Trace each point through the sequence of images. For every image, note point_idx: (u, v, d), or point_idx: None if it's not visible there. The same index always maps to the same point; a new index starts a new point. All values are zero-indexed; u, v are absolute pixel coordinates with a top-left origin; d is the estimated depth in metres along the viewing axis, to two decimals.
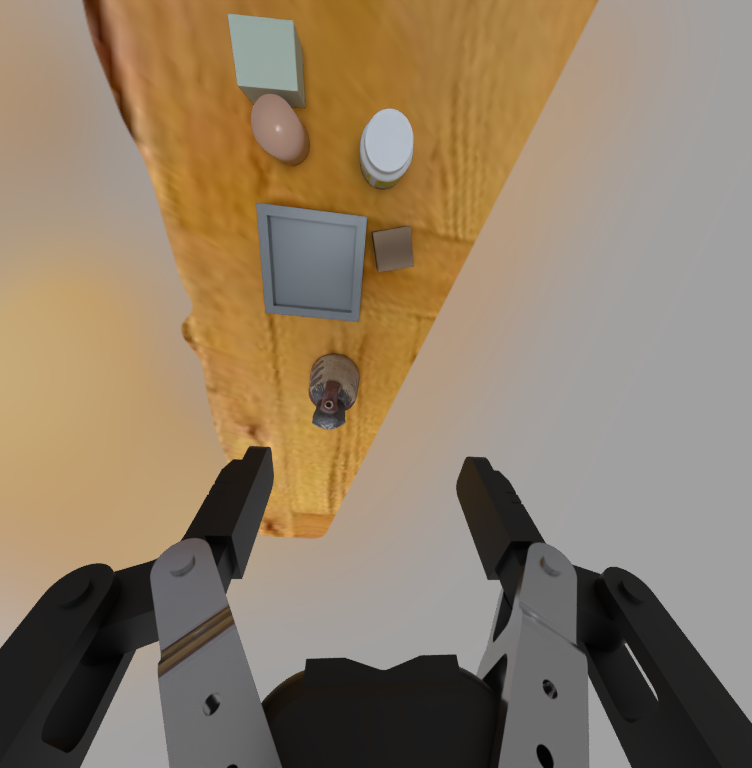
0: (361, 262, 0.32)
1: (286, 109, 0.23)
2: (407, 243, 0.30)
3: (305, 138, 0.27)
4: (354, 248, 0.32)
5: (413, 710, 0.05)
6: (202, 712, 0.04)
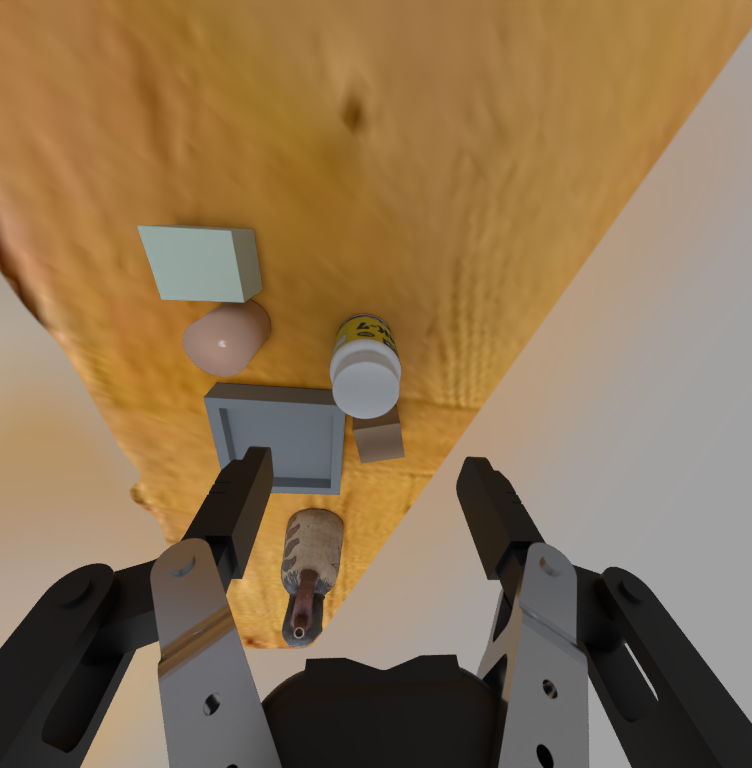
0: (340, 445, 0.26)
1: (228, 333, 0.17)
2: (396, 438, 0.24)
3: (262, 331, 0.20)
4: (332, 426, 0.26)
5: (413, 710, 0.05)
6: (202, 712, 0.04)
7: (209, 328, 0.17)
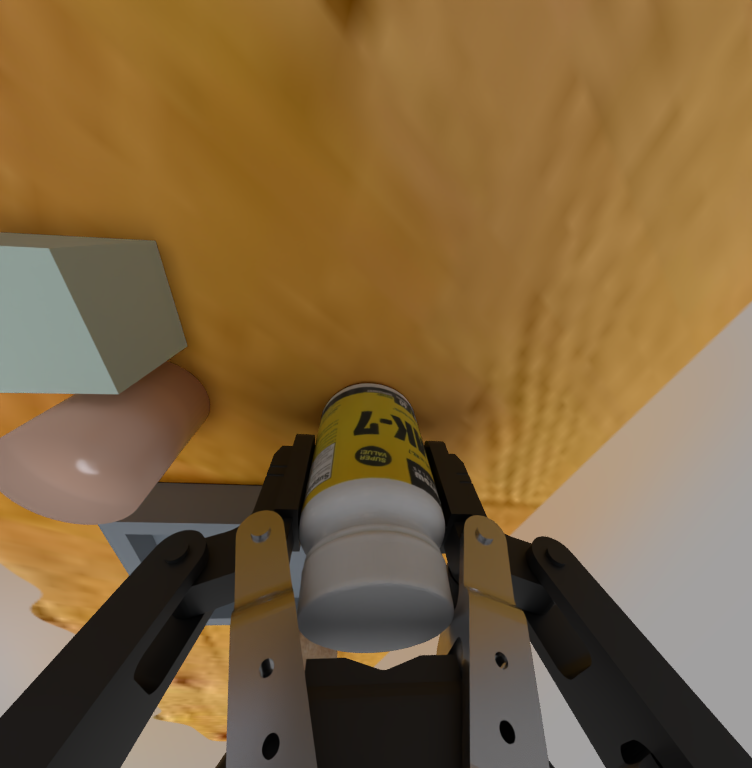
0: None
1: (81, 449, 0.08)
2: None
3: (186, 415, 0.11)
4: None
5: (413, 710, 0.05)
6: (258, 672, 0.05)
7: (36, 446, 0.08)
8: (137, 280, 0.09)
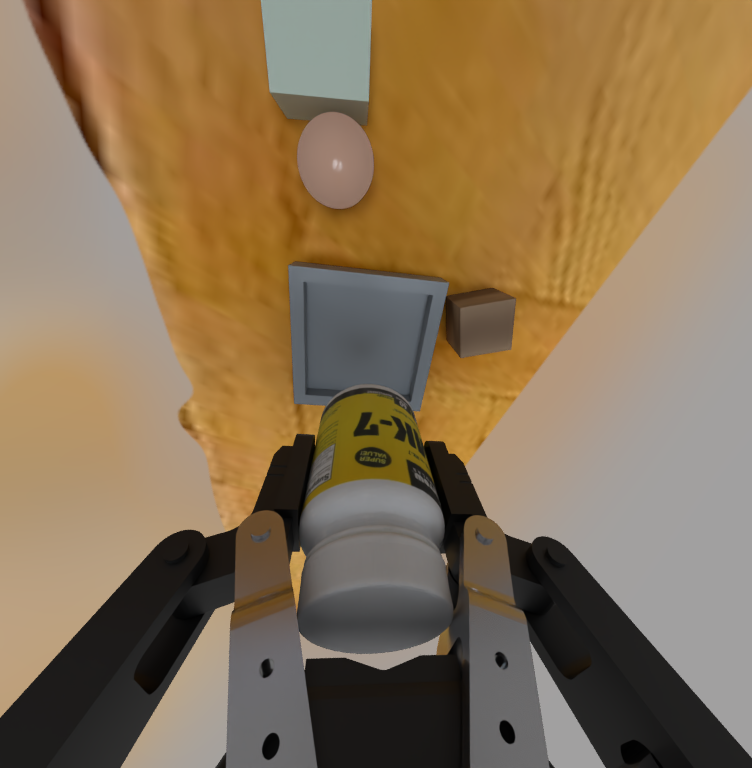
0: (433, 341, 0.23)
1: (348, 128, 0.14)
2: (507, 321, 0.21)
3: None
4: (422, 320, 0.23)
5: (413, 710, 0.05)
6: (258, 672, 0.05)
7: (326, 127, 0.14)
8: None
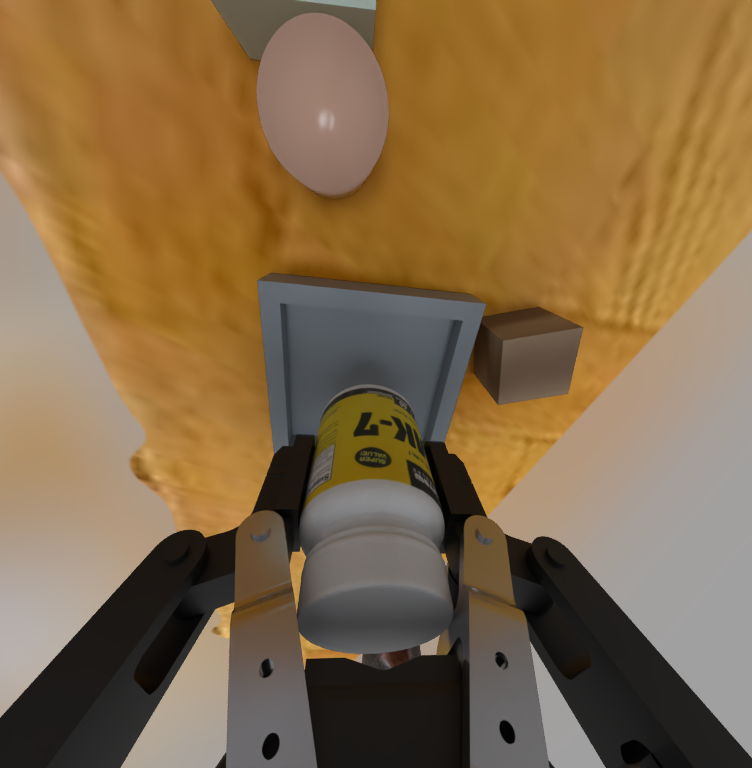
0: (459, 379, 0.17)
1: (339, 42, 0.08)
2: (567, 358, 0.15)
3: None
4: (444, 350, 0.17)
5: (413, 710, 0.05)
6: (258, 672, 0.05)
7: (301, 45, 0.08)
8: None
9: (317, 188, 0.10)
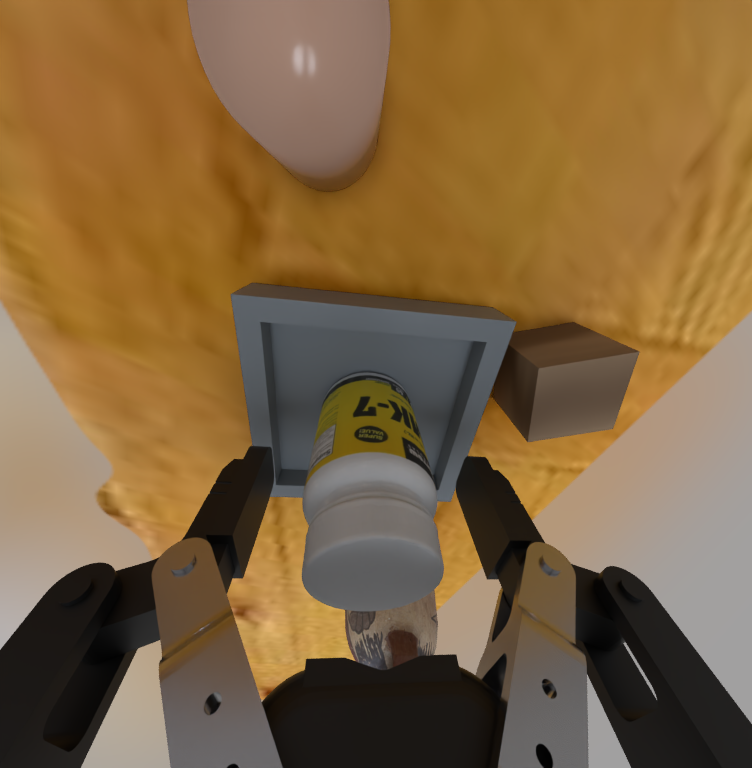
0: (480, 410, 0.14)
1: None
2: (615, 387, 0.12)
3: None
4: (461, 375, 0.14)
5: (413, 710, 0.05)
6: (203, 711, 0.04)
7: None
8: None
9: (296, 153, 0.06)
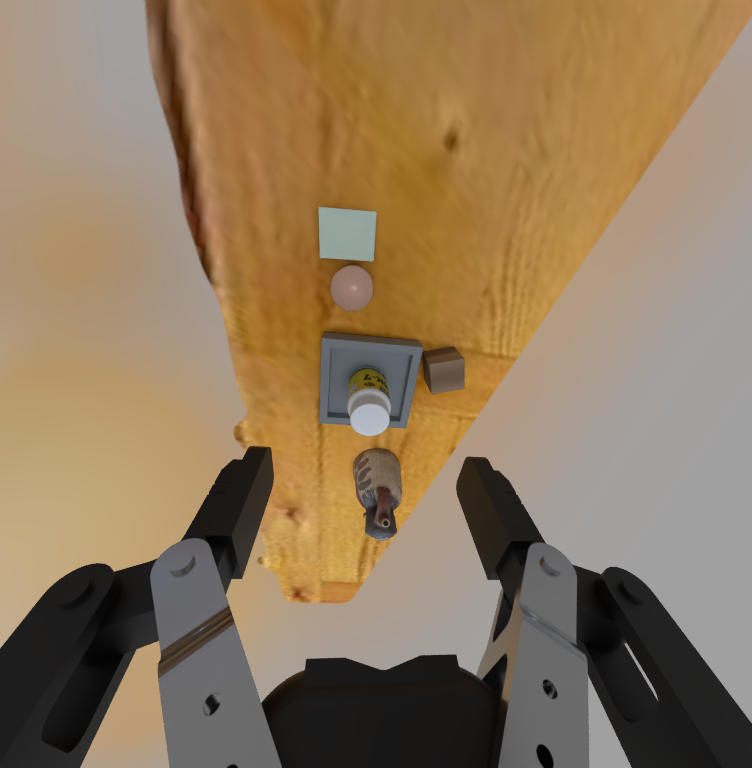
0: (414, 382, 0.34)
1: (352, 271, 0.25)
2: (460, 371, 0.32)
3: (368, 272, 0.28)
4: (407, 368, 0.34)
5: (413, 710, 0.05)
6: (202, 712, 0.04)
7: (341, 276, 0.25)
8: None
9: (353, 310, 0.27)
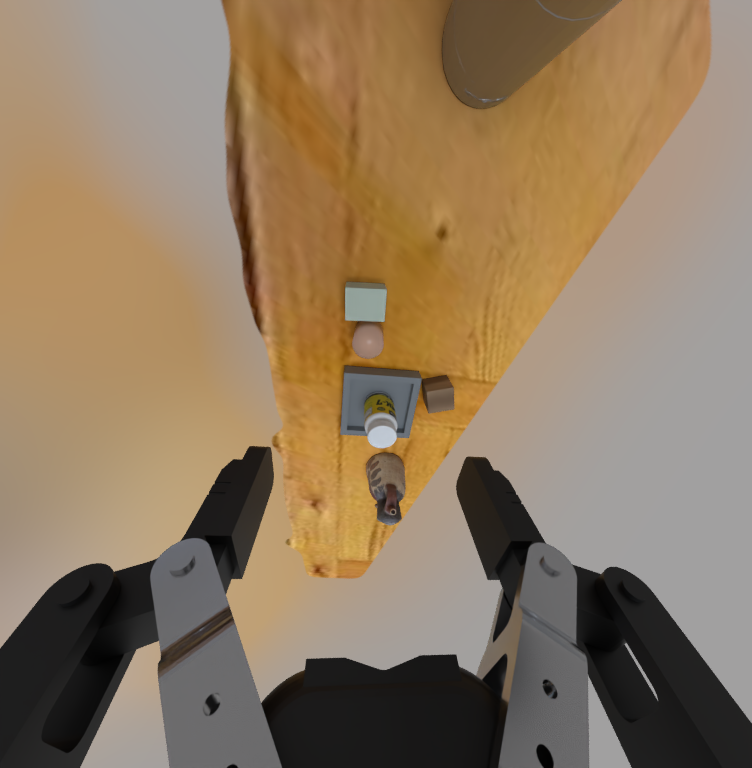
0: (414, 403, 0.44)
1: (366, 332, 0.35)
2: (450, 397, 0.42)
3: (378, 325, 0.37)
4: (409, 392, 0.44)
5: (413, 710, 0.05)
6: (202, 712, 0.04)
7: (359, 337, 0.35)
8: None
9: (371, 357, 0.36)
